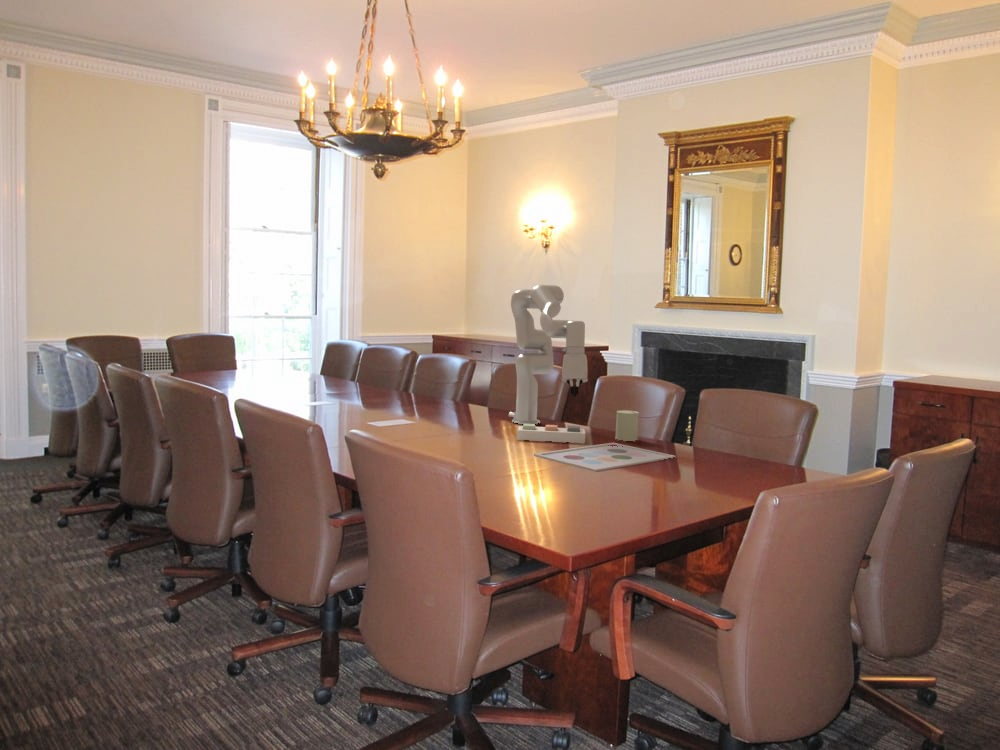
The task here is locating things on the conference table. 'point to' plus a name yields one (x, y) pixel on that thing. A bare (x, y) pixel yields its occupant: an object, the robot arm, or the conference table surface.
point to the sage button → (529, 426)
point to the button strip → (551, 435)
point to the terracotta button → (551, 427)
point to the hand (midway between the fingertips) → (574, 396)
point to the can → (627, 425)
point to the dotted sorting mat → (604, 456)
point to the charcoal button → (574, 428)
